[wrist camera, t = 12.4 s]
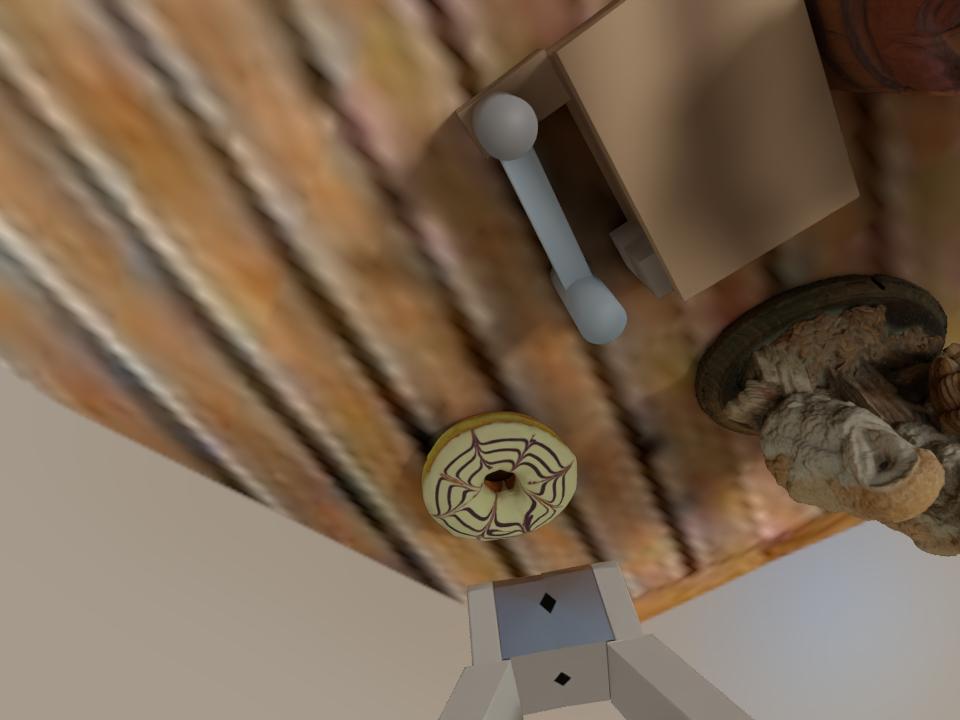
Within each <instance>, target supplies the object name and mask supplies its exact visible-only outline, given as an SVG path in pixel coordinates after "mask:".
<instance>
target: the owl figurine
mask: <svg viewBox="0 0 960 720" xmlns="http://www.w3.org/2000/svg"><path fill="white" fill-rule="evenodd" d="M874 278H875V279H876V280H878V282H880V283H882V285H884V287H885V288H884V289H885V290H882V289H880V288H879V287H878V286H877V285H876V284H875V283H873V282H872V281H871V279H870V276H868V275H857V274H856V275H846V276H840V277H833V278H829V279H827V280H823V281H818V282H815V283H810V284H807V285H803V286H800V287H797V288H794V289H792V290H789V291H787V292H785V293H783V294H780V295H778V296H777V297H774V298H773V299H770V300H768V301H766V302H764V303H762V304H760V305H758V306H756V307H755V308H753V309H752V310H750V311H748V312H747V313H745V314H744V315H743V316H741V317H740V318H738V319H737V320H736V321H735V322H734V323H733V324H732V325H730V326H729V327H728V328H726V329H725V330H723V333H722V334H721V336H720V338H719V339H718V340H717V344H716V345H715V346H714V347H713V348H712V347H710V348H708V349H707V351H706V353H705V354H704V355H703V358H702V360H701V361H700V363H699V367H698V370H697V377H696V379H697V380H696V383H695V387H696V397H697V398H698V399H697V400H698V402H699V405H700V406H701V408H702V410H704V412H706V413H707V414H708V416H710V418H711V419H712V420H714V422H716V423H717V424H719V425H720V426H722V427H724V428H727V429H729V430H732V431H735V432H739V433H743V434H746V435H755V436H761V437H760V441H759V442H760V447H761V450H762V452H763V453H764V458H765V463H766V466H767V468H768V470H770V472H771V473H772V475H773V476H774V478H775V479H776V482H777V484H778V485H780V486H782V487H784V488H785V489H786V490H787V491H788V493H789V496H790V498H792V499H793V500H794V501H796V502H797V503H805V504H808V505H816V506H818V507H819V508H824V509H825V510H828V511H829V512H833V513H837V512H845V513H848V514H850V515H852V516H854V517H857V518H860V519H862V520H863V519H864V520H868V521H870V520H877V521H879V522H881V523H882V524H885V525H886V526H888V527H889V528H891V529H893V530H896V531H900V532H902V533H904V534H905V535H907V536H909V537H910V538H911V539H912V540H913V541H914V543H915V545H916V546H917V547H918V548H920V549H921V550H923V551H925V552H927V553H930V554H934V555H940V556H948V557H949V556H956V555H957V554H960V345H959V344H955V343H952V344H951V345H950V346H948V347H947V348H945V349H944V350H943V347H944V344H945V338H946V337H945V335H946V333H947V316H946V315H945V312H944V310H943V308H942V307H941V305H940V304H939V302H938V301H937V300H935V298H934V297H933V296H932V295H931V294H930V293H929V292H928V291H926V290H924V289H922V288H921V287H918V286H916V285H915V284H913V283H911V282H908V281H906V280H904V279H900V278H897V277H890V276H885V275H881V274H880V275H877V274H876V275H875V276H874ZM942 351H943V352H942ZM941 353H942V355H941Z"/></svg>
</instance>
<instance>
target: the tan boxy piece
mask: <svg viewBox="0 0 960 720" xmlns="http://www.w3.org/2000/svg"><path fill="white" fill-rule="evenodd" d="M492 91H505V92H508V93H510V94H512V95H514V96H516V97H518V98H521V99H522V100H524V101H526V102H527V103H528V104H529V105H530V106H531V108H532V109H533V111H534V112H535V115H536V117H537V122H538V123H539V122H540V121H541V120H543V119H544V118H546V117H547V116H548V115H550V114H551V113H553V112H554V111H555V110H557V109H558V108H560V107H561V106H562V105H564V104H565V103H566V105H567V107H568V109H569V111H570V113H571V114H572V116H573V118H574V120H575V122H576V124H577V126H578V128H579V130H580V131H581V133H582V135H583V137H584V139H585V141H586V143H587V145H588V147H589V149H590V150H591V152H592V154H593V156H594V158H595V160H596V162H597V164H598V166H599V167H600V169H601V171H602V173H603V175H604V177H605V179H606V181H607V183H608V184H609V186H610V188H611V190H612V192H613V194H614V196H615V198H616V200H617V201H618V203H619V205H620V207H621V209H622V211H623V213H624V215H625V217H626V219H627V220H628V221H627V222H626V223H624V224H623V225H621V226H620V227H618V228H616V229H615V230H613V231H612V232H610V233H609V235H610V237H611V239H612V240H613V242H614V244H615V246H616V248H617V249H618V251H619V253H620V255H621V257H622V258H623V260H624V262H625V264H626V266H627V267H628V268H629V269H630V270H631V271H632V272H633V273H634V274H635V275H636V276H637V277H638V278H639V279H640V280H641V281H642V283H643V284H644V285H645V286H646V287H647V288H648V289H649V290H650V291H651V292H652V293H653V294H654V295H655V296H656V297H657V298H658V299H660V298H661V297H663V296H664V295H666V294H668V293H669V292H671V291H673V290H675V292H676V294H677V295H678V296H679V297H680V298H681V299H682V300H683V301H684V302H685V301H687V300H688V299H690V298H692V297H693V296H695V295H697V294H698V293H700V292H702V291H703V290H705V289H707V288H708V287H710V286H712V285H713V284H715V283H717V282H718V281H720V280H722V279H723V278H725V277H727V276H728V275H730V274H732V273H733V272H735V271H737V270H738V269H740V268H742V267H743V266H745V265H747V264H748V263H750V262H752V261H753V260H755V259H757V258H758V257H760V256H762V255H763V254H765V253H766V252H768V251H770V250H771V249H773V248H775V247H776V246H778V245H780V244H781V243H783V242H785V241H786V240H788V239H790V238H791V237H793V236H795V235H796V234H798V233H800V232H801V231H803V230H805V229H806V228H808V227H810V226H811V225H813V224H815V223H816V222H818V221H820V220H821V219H823V218H825V217H826V216H828V215H830V214H831V213H833V212H835V211H836V210H838V209H840V208H841V207H843V206H845V205H846V204H848V203H850V202H851V201H853V200H855V199H856V198H858V197H860V194H859V191H858V187H857V184H856V180H855V177H854V173H853V170H852V166H851V163H850V159H849V156H848V152H847V149H846V145H845V142H844V138H843V135H842V131H841V128H840V124H839V121H838V118H837V114H836V111H835V107H834V104H833V100H832V97H831V93H830V90H829V86H828V83H827V79H826V76H825V72H824V69H823V65H822V62H821V58H820V55H819V52H818V48H817V45H816V41H815V38H814V34H813V31H812V27H811V24H810V20H809V17H808V13H807V10H806V6H805V3H804V0H613V1H612V2H611V3H609V4H608V5H607V6H605V7H604V8H603V9H601V10H600V11H599V12H597V13H596V14H595V15H593V16H592V17H591V18H589V19H588V20H587V21H585V22H584V23H583V24H581V25H580V26H578V27H577V28H576V29H574V30H573V31H572V32H570V33H569V34H568V35H566V36H565V37H564V38H562V39H561V40H560V41H558V42H557V43H556V44H554V45H553V46H552V47H550V48H549V49H548V50H546V51H545V50H544V49H537V50H536V51H534V52H533V53H532V54H530V55H529V56H528V57H526V58H525V59H524V60H522V61H521V62H520V63H518V64H517V65H516V66H514V67H513V68H512V69H510V70H509V71H508V72H506V73H505V74H504V75H502V76H501V77H500V78H498V79H497V80H496V81H494V82H493V83H492V84H490V85H489V86H488V87H486V88H485V89H483V90H482V91H481V92H479V93H478V94H477V95H475V96H474V97H473V98H471V99H470V100H469V101H467V102H466V103H465V104H463V105H462V106H461V107H459V108H458V109H457V110H455V111H456V113H457V115H458V116H459V118H460V119H461V121H462V123H463V124H464V126H465V127H466V129H467V131H468V132H469V134H470V135H471V137H472V138H473V140H474V142H475V143H476V145H477V146H478V148H479V149H480V151H481V153H482V154H483V156H484V157H485V159H486V160H487V159H488V158H490V157H491V155H490V154H488V153H487V152H486V150H485V149H484V148H483V146H482V145H481V143H480V142H479V140H478V139H477V137H476V135H475V133H474V131H473V128H472V120H471V119H472V112H473V109H474V107H475V105H476V103H477V102H478V101H479V99H480V98H481V97H482V96H484V95H485V94H487V93H489V92H492Z"/></svg>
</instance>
